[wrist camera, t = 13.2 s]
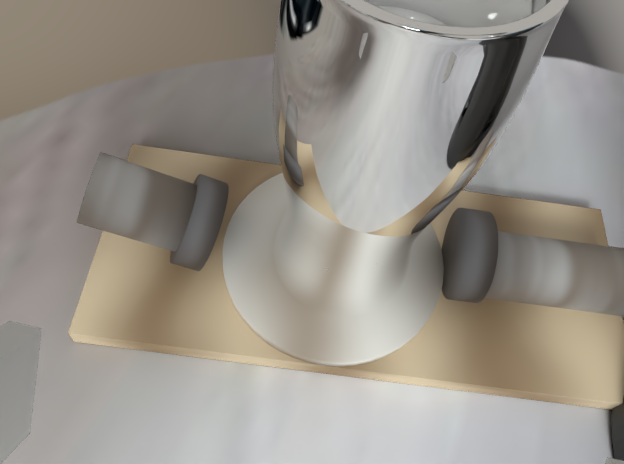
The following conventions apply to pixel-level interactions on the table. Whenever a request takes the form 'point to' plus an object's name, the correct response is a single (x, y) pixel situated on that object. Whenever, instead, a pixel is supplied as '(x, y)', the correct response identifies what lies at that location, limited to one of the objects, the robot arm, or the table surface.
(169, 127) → the table surface
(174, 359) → the table surface
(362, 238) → the beer glass
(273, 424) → the table surface
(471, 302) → the shaft cradle
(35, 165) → the table surface
